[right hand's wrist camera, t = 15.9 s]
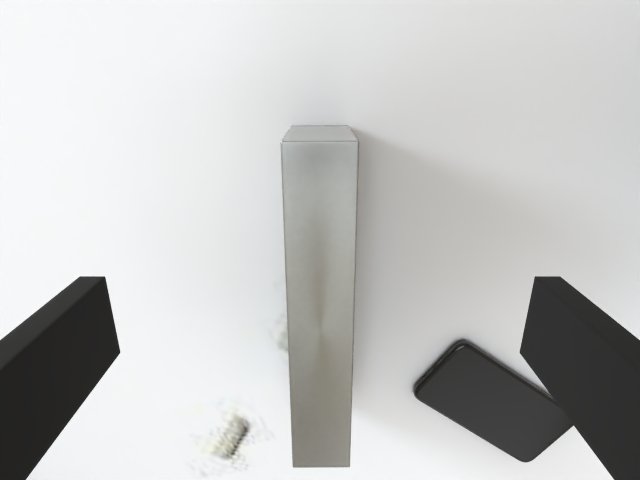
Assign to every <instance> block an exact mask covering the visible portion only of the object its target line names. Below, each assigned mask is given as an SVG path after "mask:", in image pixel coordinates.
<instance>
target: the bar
mask: <svg viewBox="0 0 640 480" xmlns="http://www.w3.org/2000/svg"><path fill="white" fill-rule="evenodd" d="M358 159H359V141H358V140H357V138H356V137H355V135H354V134H353V132H352V131H351V129H350V128H349V126H291V127H290V129H289V130H288V132H287V133H286V135H285V136H284V138H283V139H282V141H281V162H282V189H283V216H284V243H285V270H286V297H287V324H288V351H289V378H290V405H291V432H292V458H293V467H350V445H351V409H352V373H353V337H354V302H355V266H356V230H357V195H358Z"/></svg>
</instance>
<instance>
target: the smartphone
mask: <svg viewBox="0 0 640 480" xmlns="http://www.w3.org/2000/svg"><path fill="white" fill-rule="evenodd" d="M413 392H414V395H415V397H416V398H417V399H418V400H419V401H421V402H423V403H424V404H426V405H428V406H429V407H431V408H433V409H434V410H436V411H438V412H439V413H441V414H443V415H444V416H446V417H448V418H449V419H451V420H453V421H454V422H456V423H458V424H459V425H461V426H463V427H464V428H466V429H468V430H469V431H471V432H473V433H474V434H476V435H478V436H479V437H481V438H482V439H484V440H486V441H487V442H489V443H491V444H492V445H494V446H496V447H497V448H499V449H501V450H502V451H504V452H506V453H507V454H509V455H511V456H512V457H514V458H516V459H517V460H519V461H521V462H530V461H532V460H533V459H535V458H536V457H537V456H538V455H540V454H541V453H542V452H543V451H544V450H545V449H547V448H548V447H549V446H550V445H551V444H552V443H554V442H555V441H556V440H557V439H558V438H559V437H561V436H562V435H563V434H564V433H565V432H567V431H568V430H569V429H570V428H571V427H572V426H573V423H572V422H571V421H570V419H569V418H568V417H567V415H566V414H565V413H564V411H563V410H562V409H561V407H560V406H559V405H558V403H557V402H556V401H555V399H554V398H553V397H552V396H550V395H549V394H548V393H546V392H545V391H543V390H542V389H540V388H538V387H536V386H535V385H533V384H532V383H530V382H529V381H527V380H526V379H524V378H523V377H521V376H520V375H518V374H517V373H515V372H514V371H512V370H511V369H509V368H508V367H506V366H505V365H503V364H502V363H500V362H498V361H497V360H495V359H494V358H492V357H491V356H489V355H488V354H486V353H485V352H483V351H482V350H480V349H479V348H477V347H476V346H474V345H473V344H471V343H469V342H466V341H461V342H458V343H456V344H455V345H454V346H453V347H452V348H451V349H450V350H449V351H448V352H447V353H446V354H445V355H444V356H443V357H442V358H441V359H440V360H439V361H438V362H437V364H436V365H435V366H434V367H433V368H432V369H431V370H430V371H429V372H428V373H427V374H426V375H425V376H424V377H423V378H422V379H421V380H420V381H419V382H418V383H417V384H416V386H415V387H414V391H413Z"/></svg>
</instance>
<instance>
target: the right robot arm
mask: <svg viewBox="0 0 640 480" xmlns="http://www.w3.org/2000/svg"><path fill="white" fill-rule="evenodd" d="M119 354H120V349H119V344H118V339H117V334H116V329H115V324H114V319H113V314H112V309H111V304H110V299H109V294H108V289H107V284H106V279H105V277H79V278H78V279H76V280H75V281H74V282H73V283H71V284H70V285H69V286H68V287H66V288H65V289H64V290H63V291H61V292H60V293H59V294H58V295H56V296H55V297H54V298H53V299H51V300H50V301H49V302H48V303H46V304H45V305H44V306H43V307H41V308H40V309H39V310H38V311H36V312H35V313H34V314H33V315H31V316H30V317H29V318H28V319H26V320H25V321H24V322H23V323H21V324H20V325H19V326H18V327H16V328H15V329H14V330H13V331H11V332H10V333H9V334H8V335H6V336H5V337H4V338H3V339H1V340H0V480H26V479H27V477H28V476H29V474H30V473H31V472H32V470H33V469H34V468H35V466H36V465H37V464H38V462H39V461H40V460H41V458H42V457H43V456H44V454H45V453H46V452H47V450H48V449H49V448H50V446H51V445H52V444H53V442H54V441H55V440H56V438H57V437H58V436H59V434H60V433H61V432H62V430H63V429H64V427H65V426H66V425H67V423H68V422H69V421H70V419H71V418H72V417H73V415H74V414H75V413H76V411H77V410H78V409H79V407H80V406H81V405H82V403H83V402H84V401H85V399H86V398H87V397H88V395H89V394H90V393H91V391H92V390H93V389H94V387H95V386H96V385H97V383H98V382H99V380H100V379H101V378H102V376H103V375H104V374H105V372H106V371H107V370H108V368H109V367H110V366H111V364H112V363H113V362H114V360H115V359H116V358H117V356H118V355H119ZM520 354H521V355H522V356H523V358H524V359H525V360H526V362H527V363H528V364H529V366H530V367H531V368H532V370H533V371H534V372H535V374H536V375H537V376H538V378H539V379H540V380H541V382H542V383H543V385H544V386H545V387H546V389H547V390H548V391H549V393H550V394H551V395H552V397H553V398H554V399H555V401H556V402H557V403H558V405H559V406H560V407H561V409H562V410H563V411H564V413H565V414H566V415H567V417H568V418H569V419H570V421H571V422H572V423H573V425H574V426H575V427H576V429H577V430H578V432H579V433H580V434H581V436H582V437H583V438H584V440H585V441H586V442H587V444H588V445H589V446H590V448H591V449H592V450H593V452H594V453H595V454H596V456H597V457H598V458H599V460H600V461H601V462H602V464H603V465H604V466H605V468H606V469H607V470H608V472H609V473H610V474H611V476H612V477H613V479H614V480H640V340H639V339H637V338H636V337H635V336H634V335H632V334H631V333H630V332H629V331H627V330H626V329H625V328H624V327H622V326H621V325H620V324H619V323H617V322H616V321H615V320H614V319H612V318H611V317H610V316H609V315H607V314H606V313H605V312H604V311H602V310H601V309H600V308H599V307H597V306H596V305H595V304H594V303H592V302H591V301H590V300H589V299H587V298H586V297H585V296H584V295H582V294H581V293H580V292H579V291H577V290H576V289H575V288H574V287H572V286H571V285H570V284H569V283H567V282H566V281H565V280H564V279H562V278H561V277H535V279H534V284H533V289H532V294H531V299H530V304H529V309H528V314H527V319H526V324H525V329H524V334H523V339H522V344H521V349H520Z"/></svg>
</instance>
